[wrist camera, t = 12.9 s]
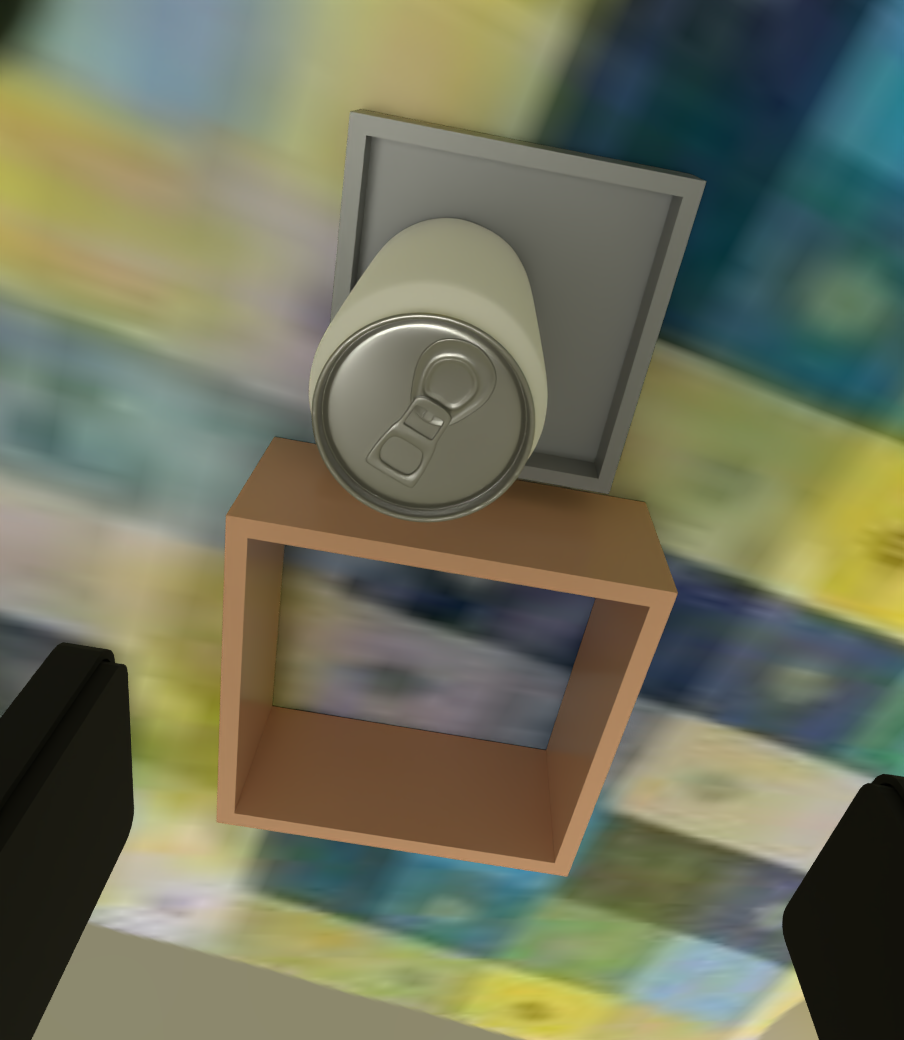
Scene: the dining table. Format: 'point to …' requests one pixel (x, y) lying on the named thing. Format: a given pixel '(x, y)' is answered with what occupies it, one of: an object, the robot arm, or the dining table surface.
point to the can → (432, 375)
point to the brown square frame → (416, 753)
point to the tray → (538, 260)
